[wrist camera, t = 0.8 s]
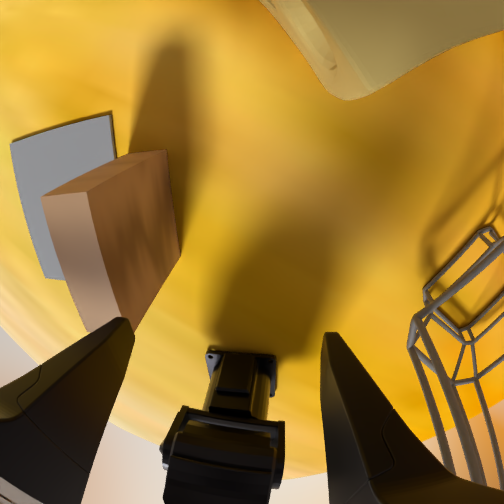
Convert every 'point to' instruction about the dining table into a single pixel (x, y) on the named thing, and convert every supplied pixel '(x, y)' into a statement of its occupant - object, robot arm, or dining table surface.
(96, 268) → the walnut slab
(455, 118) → the dining table surface
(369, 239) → the dining table surface
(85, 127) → the grey mat
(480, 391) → the geometric lantern
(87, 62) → the dining table surface
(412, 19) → the cheese
